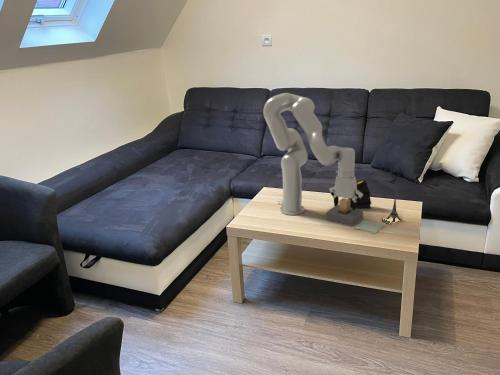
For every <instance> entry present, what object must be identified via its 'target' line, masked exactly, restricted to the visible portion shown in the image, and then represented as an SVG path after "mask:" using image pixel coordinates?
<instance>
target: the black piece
mask: <svg viewBox="0 0 500 375" xmlns="http://www.w3.org/2000/svg"><path fill="white" fill-rule="evenodd" d="M356 184H357V190H358V191H360V192H361V193H362V194H363V196H362V197H361V199H360V200H359V201H358V203H357V208H356V209H371V205H372V200H371V196H370V194H371V191H370V189H369V186H368V183H367V181H366V180H365V178H364V179H361V180H359V181H356ZM356 196H357V198H358V197H359V195H358V194H357V195H356ZM347 199H349V198H347ZM350 200H351V203H350V208H353V202H354V201H353V200H352V199H350Z"/></svg>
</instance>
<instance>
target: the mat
mask: <svg viewBox="0 0 500 375" xmlns="http://www.w3.org/2000/svg"><path fill="white" fill-rule="evenodd" d="M384 226H385V224H384V223H383V224H382V223H378V222H373V221H369V220H366V219H364V220H362V221H361V222H360V223H358V225H356V226H355V227H354V229H355V230H356V229H357V230H361V231H363V232H369V233H372V234H374V235H375V234H377V233H378V232H379V231H380V230H381V229H382V228H383V227H384Z"/></svg>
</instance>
